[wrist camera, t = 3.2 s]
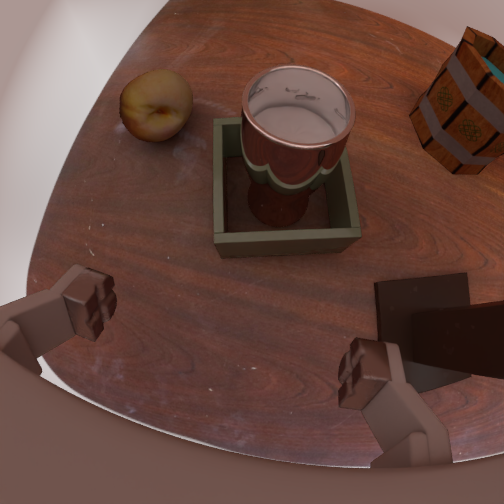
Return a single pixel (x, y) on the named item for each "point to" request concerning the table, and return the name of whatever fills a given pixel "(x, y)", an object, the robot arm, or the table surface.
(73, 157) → the table surface
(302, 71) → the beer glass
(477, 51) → the mug
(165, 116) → the fruit
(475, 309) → the stand post
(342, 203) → the holder
